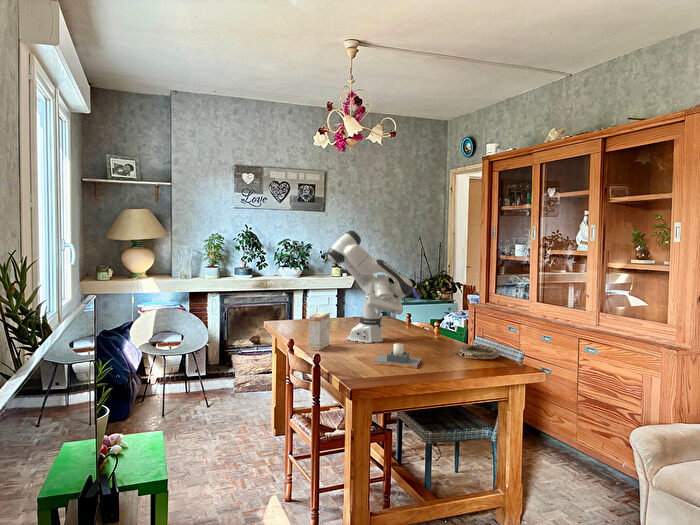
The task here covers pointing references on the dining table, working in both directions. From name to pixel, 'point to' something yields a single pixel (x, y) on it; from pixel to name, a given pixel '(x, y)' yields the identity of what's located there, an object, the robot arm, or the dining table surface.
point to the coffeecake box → (319, 330)
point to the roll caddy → (398, 359)
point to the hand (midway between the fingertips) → (386, 315)
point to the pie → (480, 351)
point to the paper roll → (398, 349)
